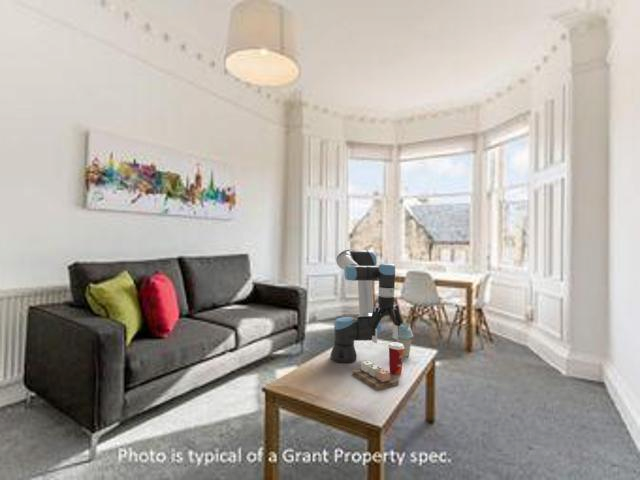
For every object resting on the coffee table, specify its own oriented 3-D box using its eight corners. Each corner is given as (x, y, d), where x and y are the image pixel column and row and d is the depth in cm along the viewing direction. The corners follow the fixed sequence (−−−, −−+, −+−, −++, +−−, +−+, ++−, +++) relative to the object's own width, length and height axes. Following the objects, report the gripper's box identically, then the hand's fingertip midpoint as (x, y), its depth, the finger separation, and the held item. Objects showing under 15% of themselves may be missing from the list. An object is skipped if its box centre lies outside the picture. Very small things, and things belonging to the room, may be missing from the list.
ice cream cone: (395, 351, 217) (396, 319, 217) (413, 353, 213) (414, 321, 213) (392, 356, 208) (393, 322, 207) (412, 359, 204) (413, 325, 204)
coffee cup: (403, 376, 179) (404, 347, 178) (387, 374, 180) (388, 345, 180) (403, 370, 187) (404, 342, 187) (387, 368, 189) (388, 341, 188)
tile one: (361, 369, 180) (361, 361, 180) (368, 368, 183) (368, 360, 183) (366, 372, 177) (366, 364, 177) (373, 371, 179) (373, 363, 179)
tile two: (368, 373, 175) (368, 365, 175) (375, 372, 177) (375, 364, 177) (374, 377, 171) (374, 368, 171) (381, 375, 173) (381, 367, 173)
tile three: (376, 378, 170) (376, 370, 170) (383, 376, 172) (383, 368, 172) (382, 382, 166) (382, 373, 166) (389, 380, 168) (389, 371, 168)
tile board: (352, 374, 180) (352, 370, 180) (372, 369, 186) (372, 366, 186) (377, 390, 162) (377, 385, 162) (398, 384, 169) (398, 380, 169)
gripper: (371, 299, 159) (369, 346, 159) (410, 295, 171) (409, 339, 172) (361, 296, 165) (359, 341, 166) (399, 292, 177) (398, 334, 178)
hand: (385, 340), depth 169 cm, fingers open, 12 cm apart
